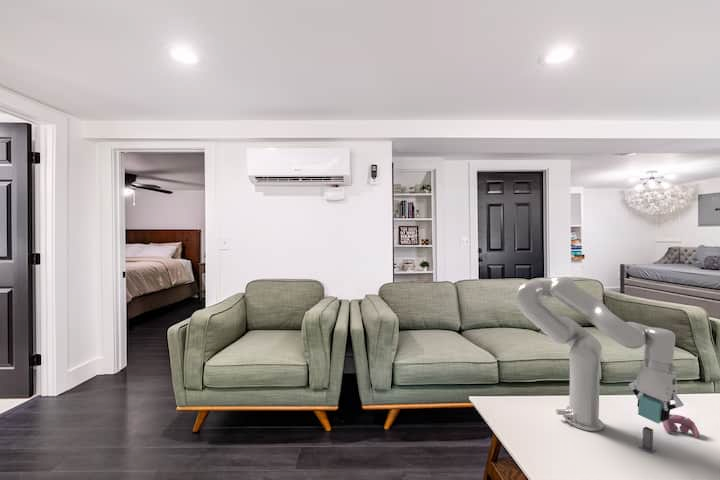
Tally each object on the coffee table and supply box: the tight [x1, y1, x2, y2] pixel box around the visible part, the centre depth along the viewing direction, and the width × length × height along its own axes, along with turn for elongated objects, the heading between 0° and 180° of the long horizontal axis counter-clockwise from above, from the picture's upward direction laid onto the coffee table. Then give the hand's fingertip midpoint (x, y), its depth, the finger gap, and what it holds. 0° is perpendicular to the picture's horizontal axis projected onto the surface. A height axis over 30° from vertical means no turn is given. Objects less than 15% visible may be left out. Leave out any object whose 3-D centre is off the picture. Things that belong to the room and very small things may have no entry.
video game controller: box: [662, 413, 701, 439], centre depth 125 cm, size 10×5×7 cm, turn 71°
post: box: [637, 426, 658, 455], centre depth 115 cm, size 4×4×7 cm
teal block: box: [637, 394, 663, 425], centre depth 118 cm, size 6×6×7 cm
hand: (652, 414), depth 118 cm, fingers closed on teal block, 5 cm apart
